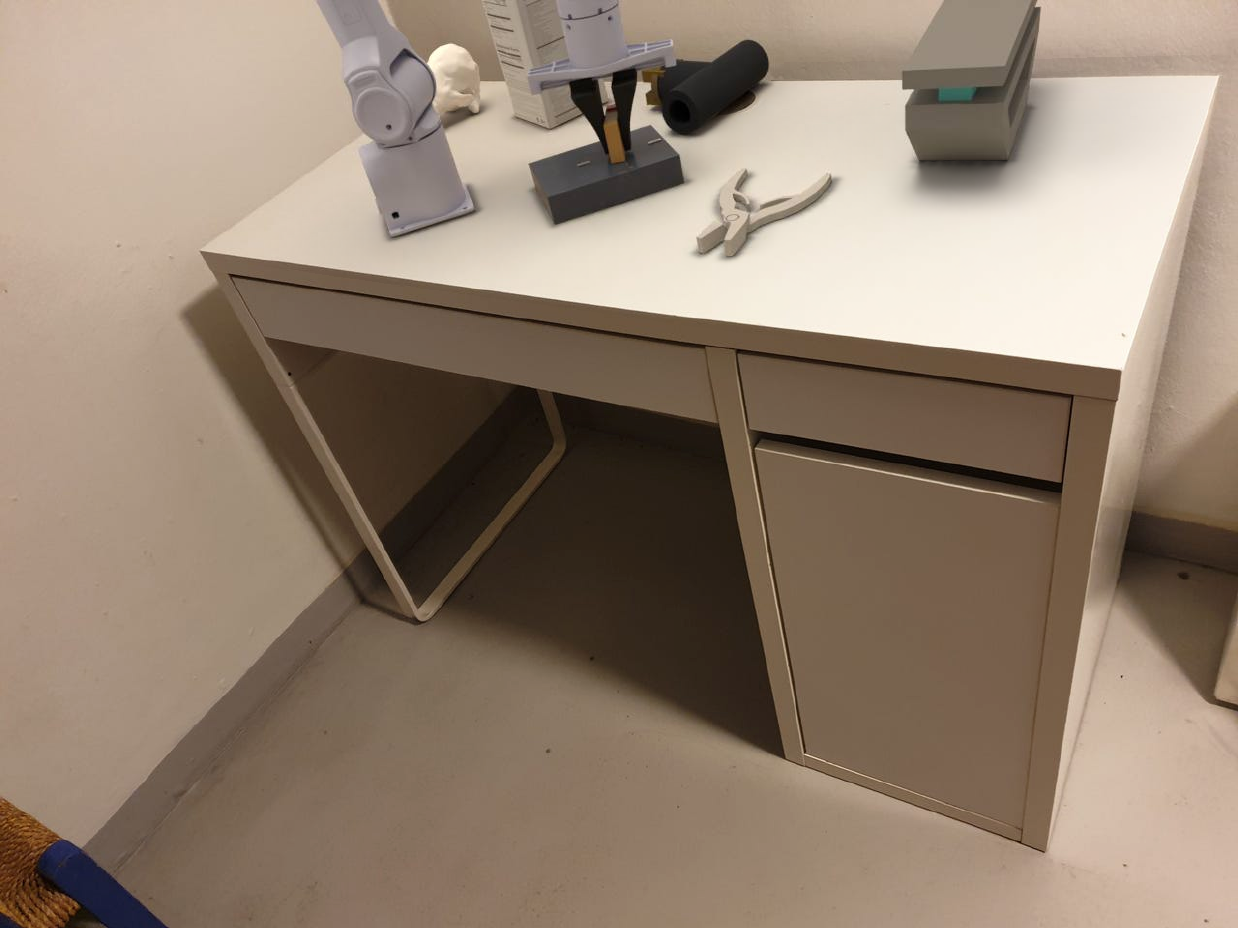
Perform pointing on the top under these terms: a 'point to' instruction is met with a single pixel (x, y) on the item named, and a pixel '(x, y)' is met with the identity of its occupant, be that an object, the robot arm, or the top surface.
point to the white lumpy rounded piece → (455, 79)
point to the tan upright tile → (614, 135)
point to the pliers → (742, 223)
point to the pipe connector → (704, 85)
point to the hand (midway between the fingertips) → (618, 148)
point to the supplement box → (532, 57)
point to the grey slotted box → (971, 79)
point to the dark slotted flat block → (605, 175)
